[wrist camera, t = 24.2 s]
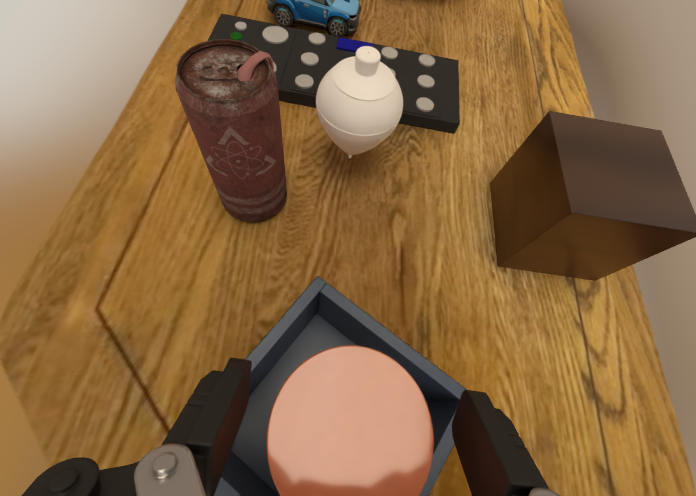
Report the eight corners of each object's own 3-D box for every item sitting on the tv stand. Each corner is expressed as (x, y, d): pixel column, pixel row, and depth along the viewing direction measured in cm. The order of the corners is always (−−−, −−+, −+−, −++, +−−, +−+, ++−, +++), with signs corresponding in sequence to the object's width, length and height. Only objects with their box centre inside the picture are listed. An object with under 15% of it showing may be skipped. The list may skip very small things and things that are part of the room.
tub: (438, 399, 27) (478, 397, 21) (343, 571, 22) (358, 636, 15) (315, 303, 29) (317, 275, 23) (202, 438, 24) (166, 449, 18)
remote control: (223, 25, 43) (220, 8, 41) (453, 70, 44) (459, 56, 42) (195, 84, 38) (189, 68, 36) (454, 133, 39) (461, 120, 38)
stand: (595, 280, 33) (703, 233, 24) (497, 266, 32) (571, 212, 23) (576, 196, 37) (661, 130, 28) (489, 182, 37) (549, 110, 28)
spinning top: (333, 197, 34) (347, 99, 23) (302, 142, 36) (300, 31, 25) (397, 174, 36) (437, 74, 25) (363, 123, 38) (386, 13, 28)
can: (301, 196, 33) (299, 69, 21) (251, 236, 31) (215, 119, 18) (260, 160, 35) (234, 20, 22) (209, 196, 32) (147, 60, 20)
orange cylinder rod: (349, 362, 26) (390, 322, 14) (382, 442, 24) (465, 482, 12) (275, 394, 25) (244, 382, 12) (303, 484, 23) (300, 581, 10)
